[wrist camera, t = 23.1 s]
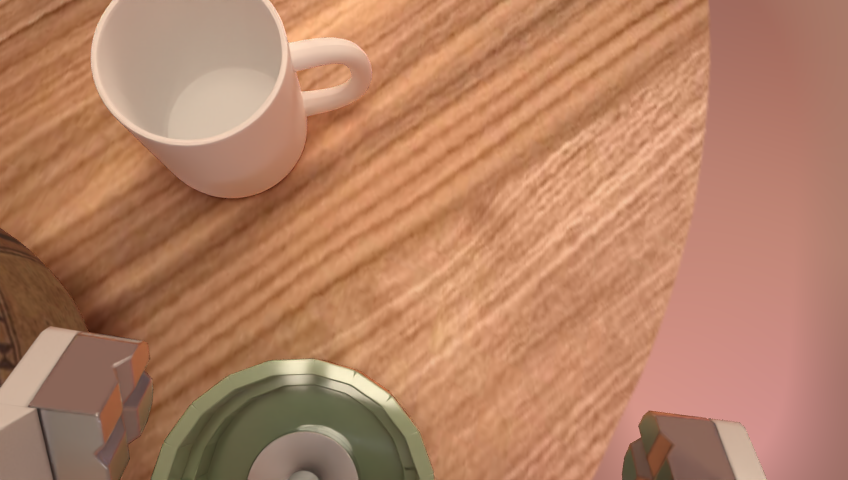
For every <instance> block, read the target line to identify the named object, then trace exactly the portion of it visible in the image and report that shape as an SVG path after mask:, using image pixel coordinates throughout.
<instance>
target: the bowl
mask: <svg viewBox="0 0 848 480" xmlns="http://www.w3.org/2000/svg"><path fill="white" fill-rule="evenodd" d="M298 428H318V429H322V430H326V431H328V432H330V433H333V434H334V435H336V436H337V437H339V438H340V439H341V440H343V441H344V442H345V443H346V444H347V445H348V446H349V448H350V449H351V451H352V452H353V454H354V456H355V458H356V459H357V462H358V465H359V469H360V473H361V480H434V474H433V473H434V471H433V468H432V466H431V463H430V460H429V457H428V454H427V452H426V449H425V446H424V443H423V440H422V438H421V435H420V432H419V430H418V428H417V427H416V426H415V424H414V423H413V421H412V420H411V418H410V417H409V416H408V414H407V413H406V412H405V411H404V409H403V408H402V407H401V405H400V404H399V403H398V401H397V400H396V399H395V397H394V396H393V395H392V394H391V392H389V390H387V389H386V388H384V387H383V386H381V385H380V384H379V383H377V382H376V381H374V380H373V379H371V378H370V377H368V376H367V375H365V374H364V373H362V372H361V371H359V370H357V369H353V368H350V367H346V366H343V365H339V364H336V363H332V362H329V361H325V360H320V359H287V360H270V361H266V362H264V363H261V364H258V365H255V366H253V367H250V368H247V369H244V370H241V371H239V372H236V373H233V374H230V375H228V376H227V377H225V378H224V379H223V380H221V381H220V382H219V383H217V384H216V385H215V386H213V387H212V388H211V389H209V390H208V391H207V392H205V393H204V394H203V395H202V396H200V397H199V398H198V399H196V400H195V401H194V402H192V404H191V405H190V406H189V407H188V408H187V410H186V411H185V413H184V414H183V415H182V417H181V418H180V419H179V421H178V422H177V424H176V425H175V426H174V428H173V429H172V431H171V432H170V433H169V435H168V436H167V438H166V439H165V441H164V443H163V444H162V447H161V450H160V453H159V456H158V459H157V462H156V465H155V468H154V471H153V474H152V477H151V480H246V478H247V475H248V472H249V469H250V467H251V465H252V463H253V461H254V459H255V458H256V456H257V455H258V454H259V452H260V451H261V450H262V449H263V448H264V447H265V446H266V445H267V444H269V443H270V442H271V441H273V440H274V439H276V438H277V437H278V436H280V435H282V434H284V433H286V432H288V431H291V430H294V429H298Z"/></svg>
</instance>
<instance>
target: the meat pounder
mask: <svg viewBox="0 0 848 480" xmlns="http://www.w3.org/2000/svg"><path fill="white" fill-rule="evenodd" d="M246 480H361V473H360V469H359V465H358V462H357V459H356V458H355V456H354V454H353V452H352V451H351V449H350V448H349V446H348V445H347V444H346V443H345V442H344V441H343V440H341V439H340V438H339V437H337V436H336V435H334V434H333V433H330V432H328V431H326V430H322V429H318V428H298V429H294V430H291V431H288V432H286V433H284V434H282V435H280V436H278V437H277V438H276V439H274V440H273V441H271V442H270V443H269V444H267V445H266V446H265V447H264V448H263V449H262V450H261V451H260V452H259V454H258V455H257V456H256V458H255V459H254V461H253V463H252V465H251V467H250V469H249V472H248V475H247V478H246Z"/></svg>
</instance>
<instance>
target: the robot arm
mask: <svg viewBox="0 0 848 480" xmlns="http://www.w3.org/2000/svg"><path fill="white" fill-rule="evenodd" d="M149 360H150V354H149V347H148V343H146V342H144V341H141V340H135V339H129V338H123V337H116V336H110V335H104V334H98V333H92V332H86V331H76V330H70V329H64V328H58V327H52V326H50V327H48V328H47V329H45V330H44V331H42V332H41V333H40V334H39V335H38V337H37V338H36V339H35V341H34V342H33V344H32V345H31V346H30V348H29V349H28V350H27V352H26V353H25V354H24V356H23V357H22V358H21V360H20V361H19V363H18V364H17V365H16V367H15V368H14V369H13V371H12V372H11V373H10V375H9V376H8V377H7V379H6V380H5V382H4V383H3V384H2V386H1V387H0V480H120V478H121V476H122V474H123V472H124V470H125V468H126V465H127V463H128V461H129V459H130V458H129V450H128V444H129V443H131V442H132V441H134V440H135V439H137V438H138V437H140V436H141V434H142V432H143V429H144V427H145V425H146V423H147V420H148V416H149V413H150V409H151V405H152V398H153V382H152V378H151V377H150V376H149V375H148V373H147V372H146V371H145V368H146V366H147V364H148V362H149ZM639 430H640V434H641V438H639V439H638V440H636V441H634V442H632V443H631V444H630V445H629V447H628V450H627V452H626V455H625V457H624V463H623V471H622V480H767V478H766V476H765V473H764V471H763V469H762V466H761V464H760V462H759V459H758V457H757V455H756V452H755V450H754V448H753V445H752V443H751V441H750V438H749V436H748V434H747V431H746V429H745V427H744V426H743V425H742V424H741V423H739V422H733V421H725V420H718V419H707V418H702V417H695V416H686V415H679V414H671V413H664V412H656V411H648V412H647V413H646V414H645V415H644V416H643V418H642V420H641V422H640V424H639Z"/></svg>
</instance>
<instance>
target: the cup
mask: <svg viewBox="0 0 848 480" xmlns="http://www.w3.org/2000/svg"><path fill="white" fill-rule="evenodd" d="M328 64H344V65H346V66H347V67H348V68H349V69H350V71H351V77H350V79H349V80H348V81H347V82H345V83H343V84H341V85H338V86H335V87H331V88H327V89H321V90H313V91H304V92H302V91H301V88H300V85H299V81H298V77H297V73H296V71H300V70H304V69H308V68H313V67H317V66H322V65H328ZM91 70H92V75H93V79H94V83H95V86H96V89H97V91H98V93H99V95H100V97H101V99H102V101H103V103H104V104H105V106H106V107H107V108H108V110H109V111H110V112H111V113H112V114H113V116H114V117H115V118H116V119H117V120H118V121H119V122H120V123H121V124H122V125H123V126H124V127H126V128H127V129H128V130H129V131H130V132H131V133H132V134H133V135H134V136H135V137H136V138H137V139H138V140H139V141H140V142H141V143H142V144H143V145H144V146H145V147H146V148H147V149H148V150H149V151H150V152H151V153H152V154H154V155H155V156H156V157H157V158H158V159H159V160H160V161H161V162H162V163H163V164H164V165H165V166H166V167H167V168H168V169H169V170H170V171H171V172H172V173H173V174H174V175H175V176H177V177H178V178H179V179H180V180H181V181H183V182H184V183H185V184H187V185H188V186H190V187H192V188H193V189H196V190H198V191H200V192H202V193H205V194H208V195H211V196H215V197H221V198H242V197H248V196H252V195H255V194H258V193H261V192H263V191H266V190H267V189H269V188H271V187H273V186H274V185H276V184H277V183H279V182H280V181H281V180H282V179H284V178H285V177H286V176H287V175H288V174H289V172H290V171H291V170H292V169H293V168H294V166H295V165H296V163H297V162H298V160H299V158H300V156H301V154H302V151H303V149H304V145H305V141H306V136H307V116H311V115H316V114H320V113H325V112H329V111H332V110H336V109H339V108H342V107H344V106H347V105H349V104H351V103H353V102H354V101H356V100H357V99H359V98H360V97H361V96H362V95H363V94H364V93H365V92H366V91H367V89H368V87H369V85H370V83H371V79H372V67H371V64H370V61H369V59H368V57H367V55H366V53H365V52H364V51H363V50H362V49H361V48H360V47H359V46H358V45H356V44H355V43H353V42H351V41H349V40H345V39H341V38H333V37H325V38H314V39H307V40H301V41H296V42H290V43H289V42H288V40H287V36H286V32H285V29H284V26H283V23H282V21H281V18H280V16H279V14H278V13H277V11H276V9H275V8H274V6H273V5H272V3H271V2H270V1H269V0H112V2H111V3H110V4H109V6H108V7H107V8H106V10H105V11H104V13H103V15H102V16H101V18H100V20H99V22H98V25H97V27H96V30H95V33H94V37H93V41H92V47H91Z"/></svg>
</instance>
